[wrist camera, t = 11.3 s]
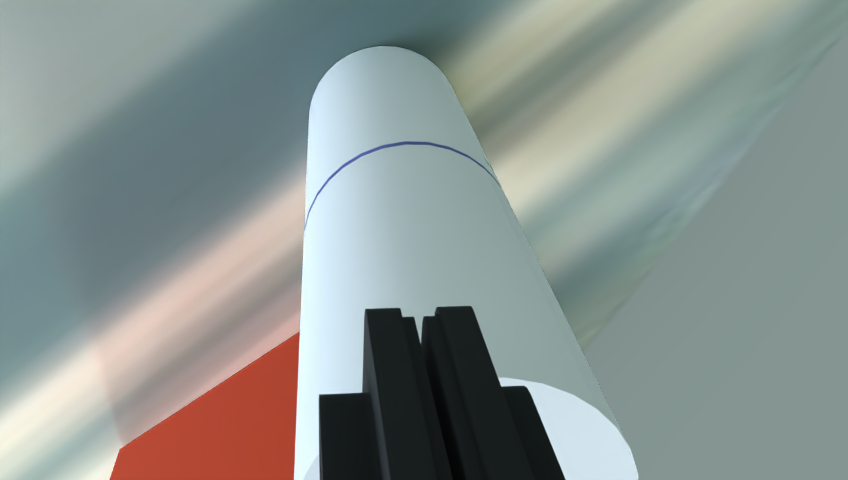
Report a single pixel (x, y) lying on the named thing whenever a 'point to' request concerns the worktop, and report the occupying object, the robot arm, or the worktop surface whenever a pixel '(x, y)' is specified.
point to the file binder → (226, 429)
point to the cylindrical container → (428, 255)
